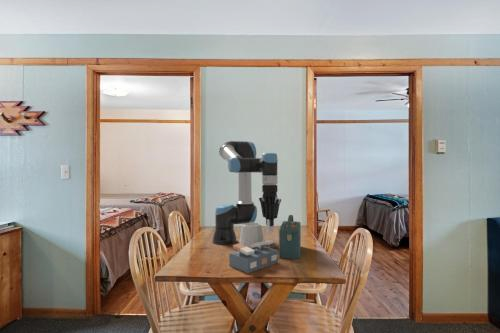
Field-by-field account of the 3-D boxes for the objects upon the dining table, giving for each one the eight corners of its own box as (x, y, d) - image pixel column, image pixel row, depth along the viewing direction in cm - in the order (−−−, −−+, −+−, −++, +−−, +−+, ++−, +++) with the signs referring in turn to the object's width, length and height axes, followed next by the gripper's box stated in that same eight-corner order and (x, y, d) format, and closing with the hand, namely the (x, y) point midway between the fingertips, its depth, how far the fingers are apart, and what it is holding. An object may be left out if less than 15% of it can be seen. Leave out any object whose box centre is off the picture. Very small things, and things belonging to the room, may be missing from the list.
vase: (266, 254, 146) (266, 226, 146) (240, 255, 143) (240, 227, 143) (261, 247, 159) (261, 221, 160) (237, 248, 157) (237, 222, 157)
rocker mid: (243, 252, 132) (242, 247, 132) (251, 250, 135) (250, 245, 136) (257, 248, 125) (255, 243, 126) (264, 246, 129) (263, 241, 129)
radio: (300, 259, 137) (300, 220, 137) (278, 258, 139) (278, 219, 139) (300, 246, 162) (300, 212, 162) (282, 245, 164) (282, 212, 164)
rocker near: (232, 249, 127) (232, 245, 127) (240, 247, 131) (240, 243, 131) (246, 257, 120) (246, 252, 120) (254, 255, 124) (255, 250, 123)
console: (228, 265, 127) (228, 249, 128) (259, 256, 142) (259, 241, 142) (248, 273, 118) (248, 255, 118) (278, 262, 132) (278, 246, 133)
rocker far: (253, 248, 137) (252, 243, 137) (260, 246, 140) (259, 242, 141) (267, 246, 130) (266, 241, 130) (274, 244, 133) (273, 239, 134)
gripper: (255, 184, 135) (255, 231, 134) (274, 185, 125) (275, 235, 125) (265, 183, 140) (265, 229, 139) (284, 184, 131) (285, 233, 130)
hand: (269, 232), depth 132 cm, fingers closed
